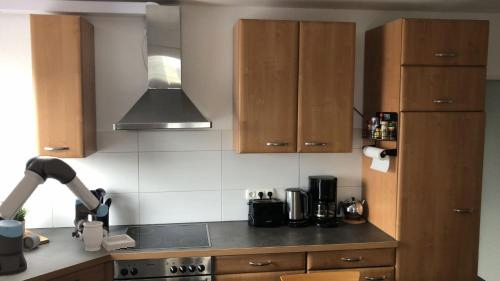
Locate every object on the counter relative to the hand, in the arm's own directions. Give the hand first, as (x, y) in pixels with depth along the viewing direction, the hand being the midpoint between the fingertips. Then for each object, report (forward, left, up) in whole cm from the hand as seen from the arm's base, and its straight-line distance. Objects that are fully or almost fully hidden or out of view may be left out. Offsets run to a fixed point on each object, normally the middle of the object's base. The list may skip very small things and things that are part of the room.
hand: (94, 235), depth 241 cm
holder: (+14, +3, -8) cm, 17 cm away
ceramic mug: (-30, +21, -9) cm, 38 cm away
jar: (0, +2, -9) cm, 9 cm away
